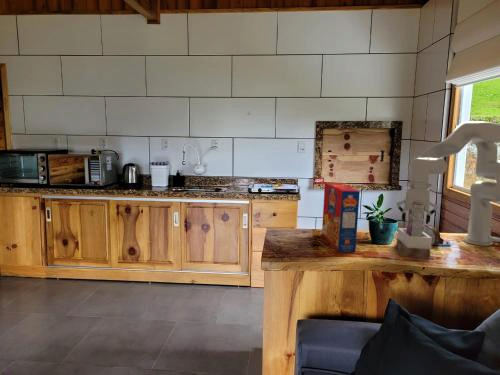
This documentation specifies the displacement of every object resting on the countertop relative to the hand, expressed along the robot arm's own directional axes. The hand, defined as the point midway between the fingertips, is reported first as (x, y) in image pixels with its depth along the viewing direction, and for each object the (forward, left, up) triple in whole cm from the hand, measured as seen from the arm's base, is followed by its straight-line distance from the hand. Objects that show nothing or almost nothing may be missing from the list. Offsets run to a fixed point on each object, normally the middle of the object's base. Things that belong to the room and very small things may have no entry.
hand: (415, 222), depth 172 cm
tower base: (0, 0, -14) cm, 14 cm away
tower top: (0, 0, -10) cm, 10 cm away
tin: (-9, -20, -14) cm, 26 cm away
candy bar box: (0, 0, -7) cm, 7 cm away
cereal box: (+34, +2, -14) cm, 37 cm away
